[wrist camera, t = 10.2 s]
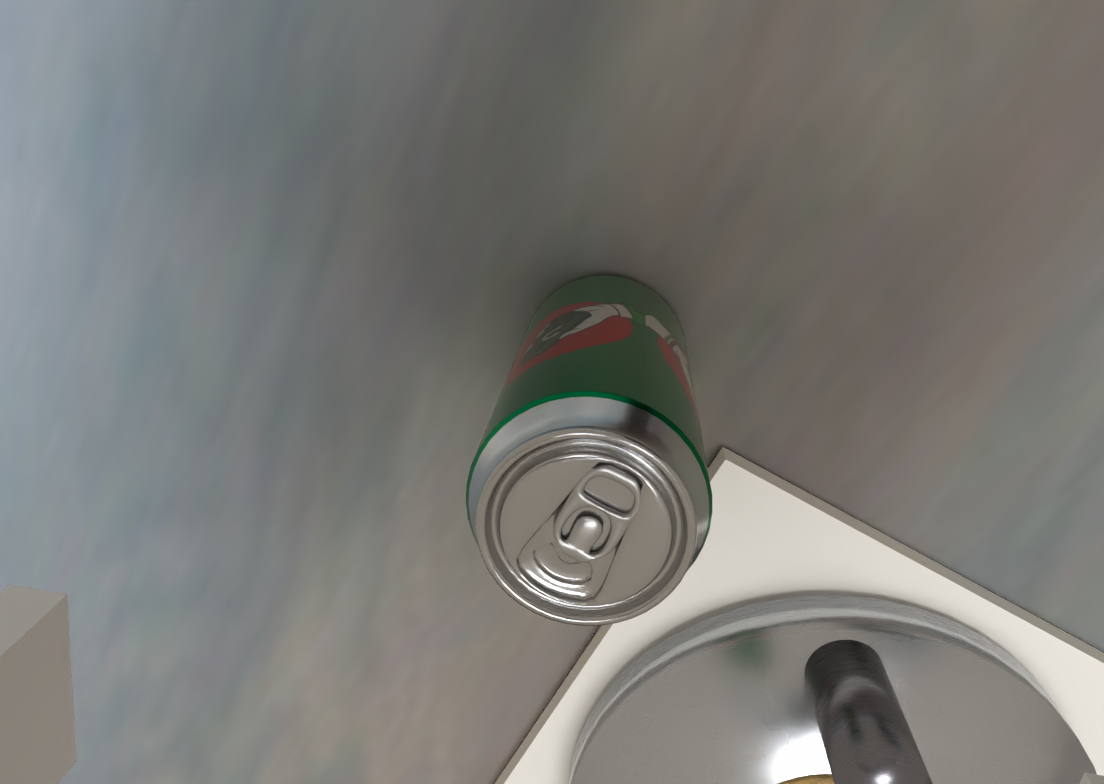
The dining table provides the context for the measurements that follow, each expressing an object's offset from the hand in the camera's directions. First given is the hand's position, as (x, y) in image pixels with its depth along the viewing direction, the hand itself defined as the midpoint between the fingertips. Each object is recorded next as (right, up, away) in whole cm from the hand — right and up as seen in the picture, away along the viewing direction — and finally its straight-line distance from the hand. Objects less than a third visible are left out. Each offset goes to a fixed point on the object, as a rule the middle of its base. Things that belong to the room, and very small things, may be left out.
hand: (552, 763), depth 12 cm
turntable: (+10, -10, +21) cm, 25 cm away
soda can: (+2, +6, +17) cm, 18 cm away
